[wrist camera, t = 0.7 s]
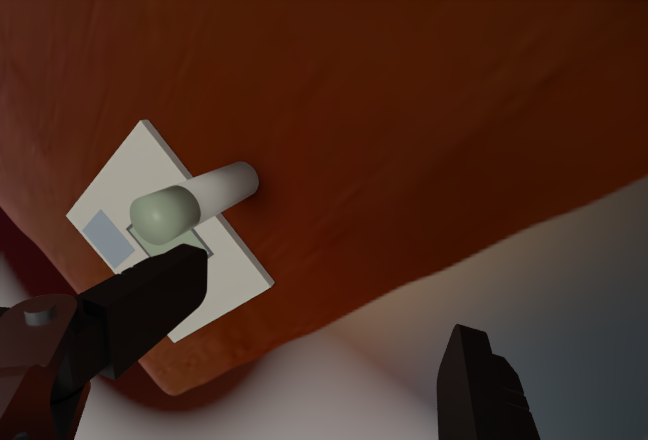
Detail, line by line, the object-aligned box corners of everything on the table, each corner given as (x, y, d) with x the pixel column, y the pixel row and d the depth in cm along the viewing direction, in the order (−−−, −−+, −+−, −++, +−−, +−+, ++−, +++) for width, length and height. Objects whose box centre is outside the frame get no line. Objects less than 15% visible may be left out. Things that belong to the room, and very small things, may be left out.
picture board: (148, 119, 34) (139, 120, 33) (275, 282, 36) (270, 287, 35) (73, 213, 43) (65, 216, 42) (179, 337, 46) (173, 343, 45)
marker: (243, 154, 32) (146, 186, 21) (265, 184, 32) (181, 230, 22) (221, 174, 33) (121, 213, 23) (242, 202, 34) (154, 253, 23)
